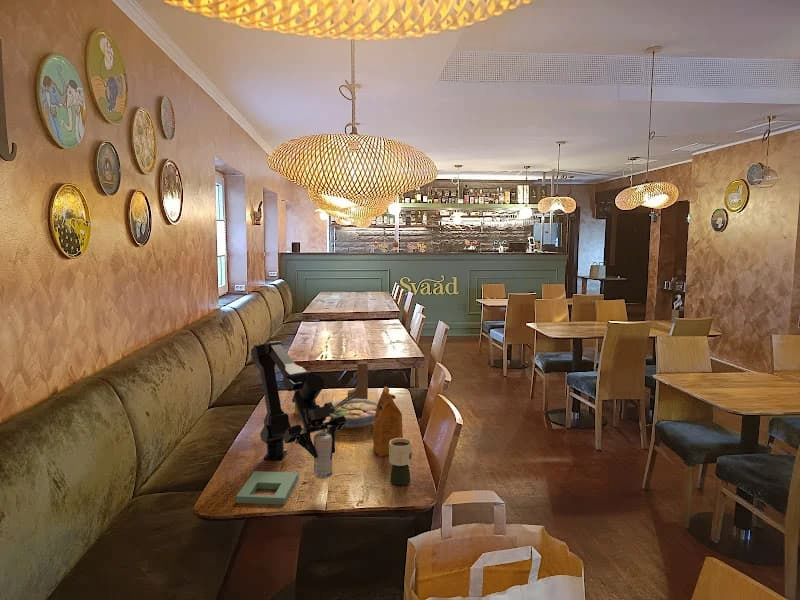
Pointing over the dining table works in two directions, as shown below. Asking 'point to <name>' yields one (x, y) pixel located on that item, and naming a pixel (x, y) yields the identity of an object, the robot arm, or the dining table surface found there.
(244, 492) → the socket board
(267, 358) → the robot arm
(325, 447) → the energy drink
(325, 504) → the dining table surface
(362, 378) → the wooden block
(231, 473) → the dining table surface
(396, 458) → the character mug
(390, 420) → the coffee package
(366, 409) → the ramen bowl
